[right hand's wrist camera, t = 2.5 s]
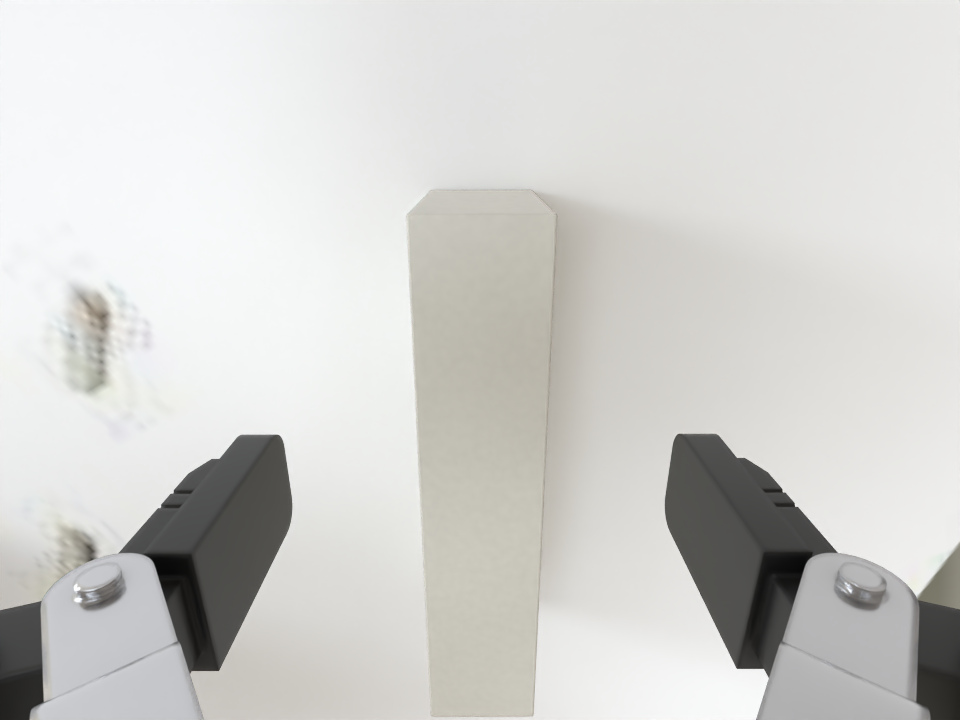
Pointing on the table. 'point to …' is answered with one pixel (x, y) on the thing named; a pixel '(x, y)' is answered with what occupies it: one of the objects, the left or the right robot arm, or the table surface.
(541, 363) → the bar
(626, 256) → the table surface
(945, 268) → the table surface
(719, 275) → the table surface
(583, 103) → the table surface
